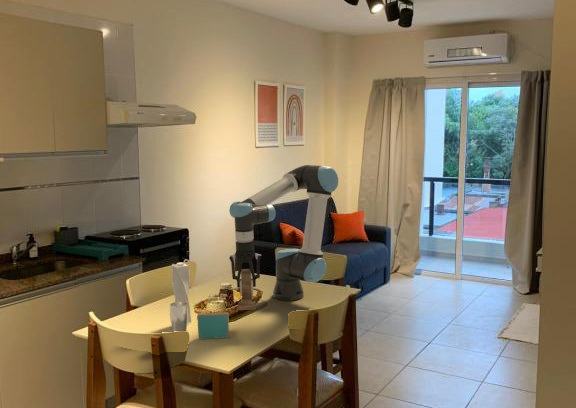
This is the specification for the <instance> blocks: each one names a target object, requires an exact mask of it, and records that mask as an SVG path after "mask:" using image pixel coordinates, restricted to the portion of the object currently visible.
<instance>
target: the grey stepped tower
mask: <svg viewBox="0 0 576 408" xmlns="http://www.w3.org/2000/svg"><path fill="white" fill-rule="evenodd" d="M240 279H241V282H242V296H241V301H238V303H237V310H238V311H247V310H249V311H250V310H256V309H257V307H256V301H254V300H253V295H252V291H251V279H252V274H251V270H250V268H242V269H241V275H240Z"/></svg>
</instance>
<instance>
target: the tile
mask: <svg viewBox="0 0 576 408" xmlns="http://www.w3.org/2000/svg"><path fill="white" fill-rule="evenodd" d="M229 320H230V318H229V312H227V311H226V312H223V311H221V312H198V313H197V334H198V335H197V336H198V340H206V339H208V340H209V339H210V340H211V339H229V338H230V329H229V328H230V323H229Z"/></svg>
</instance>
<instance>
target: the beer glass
mask: <svg viewBox="0 0 576 408" xmlns="http://www.w3.org/2000/svg"><path fill="white" fill-rule="evenodd" d="M169 319H170V324H171V325H170V326H171V329H172V332H173V331H187V330H188V325H187V323H188V308H187V303H186V302H183V301H178V302H175V301H174V302H171V303H169ZM187 332H188V331H187Z"/></svg>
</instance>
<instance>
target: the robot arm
mask: <svg viewBox="0 0 576 408" xmlns="http://www.w3.org/2000/svg"><path fill="white" fill-rule="evenodd" d="M338 186H339V176H338V173H337V172H336V169H334V168H333V167H331V166H328V165H327V166H326V165H315V164H314V165H313V164H306V165H302V166H298V167H296V168H294V169H292V170H290V171H288V172H286V173H285V174H283V176H282V178H281V179H279V180H277V181H274V183H272V184H270V185H268V186H266V187H265V188H263V189H261V190H259V191H258V192H256V193H255V194H253V195H251V196H250V197H248V198H246V199H244V200H242V201H234V202H232V203H231V204H230V206H229V210H228V211H229V214H230V217H232V218H234V233H235V237H234V238H235V252H234V253H235V254H232V255H231V254H230V255H229V261H230V264H231V275H232V279H233V280H236V287H237V289H239V291H240V292H239V295H240V296H241V297H242V282H241V269H243V264H246V263H247V264H248V266H249V269H250V270H251V291H252V296H254V288H256V284H257V283H256V281H257V279H260V277H261V271H260V270H261V267H260V266H261V262H260V261H261V259H262V254H260V253H256V251H255V243H254V242H255V241H254V239H255V237H254V234H255V233H254V225H260V224H263V223H264V224H265V223H269V222H272V221H274V219H275V218H276V213H277V212H276V209H275V206H273V205H272V204H273V203H275V202H276V201H278V200H280V199H281V198H283V197H285V196H286V195H287V194H289V193H296V192H298V191H299V190H306V194H307V196H308V204H307V211H306V217H305V225H304V233H303V241H302V246H301V248H286V249H281V250H278V251H277V252H276V253H275V277H276V279H275V284H274V287H273V289H272V290H273V291H272V297H273V298H274V299H276V300H278V301H279V300H280V301H296V300H301V299H303V298H304V297H305V291H304V288H303V284H302V282H301V280H303V281H306V282H309V283H317V282H319V281H320V280H321V279H323V278H324V276H325V275H326V273H327V272H326V271H327V269H328V268H327V262H326V260H325V259H324V257H323V256H324V253H323V251H322V249H321V248H322V241H323V234H324V227H325V219H326V212H327V204H328V199H330V198H331V197H332V192H333V193H334V191H336V190H337V188H338ZM254 258H255V259H256V273H255V269H254V265H253V262H252V261H253V259H254ZM236 259H237V260H238V261H239V263H238V270H237V275H236V266H235V265H236V264H235V260H236Z"/></svg>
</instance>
